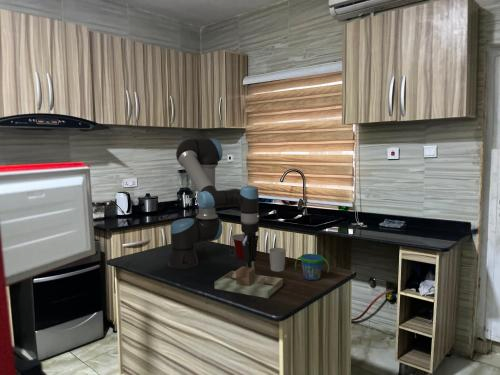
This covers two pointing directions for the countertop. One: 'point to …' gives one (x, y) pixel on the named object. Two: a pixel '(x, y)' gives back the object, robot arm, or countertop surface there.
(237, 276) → the walnut block
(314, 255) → the snack cup
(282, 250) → the white cup
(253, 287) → the frame
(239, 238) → the plastic cup
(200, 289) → the countertop surface
